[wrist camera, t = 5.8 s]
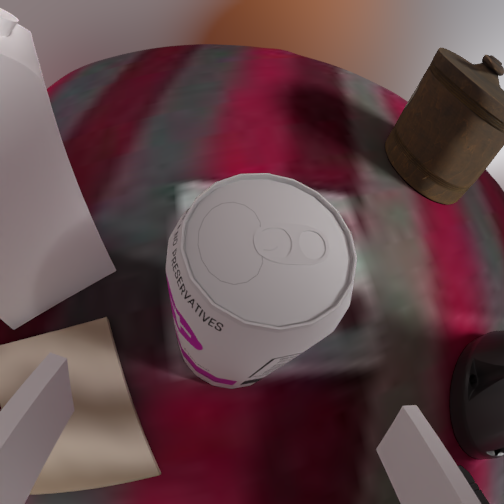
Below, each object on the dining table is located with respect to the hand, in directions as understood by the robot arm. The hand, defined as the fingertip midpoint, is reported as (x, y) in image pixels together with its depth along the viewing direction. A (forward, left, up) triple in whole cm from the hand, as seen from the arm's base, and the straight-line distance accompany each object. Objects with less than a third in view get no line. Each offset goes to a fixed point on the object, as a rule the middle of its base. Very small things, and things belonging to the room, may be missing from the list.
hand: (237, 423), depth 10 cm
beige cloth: (+4, +12, -13) cm, 18 cm away
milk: (+19, +11, -13) cm, 25 cm away
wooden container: (+19, -41, -13) cm, 47 cm away
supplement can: (+6, -4, -13) cm, 15 cm away
